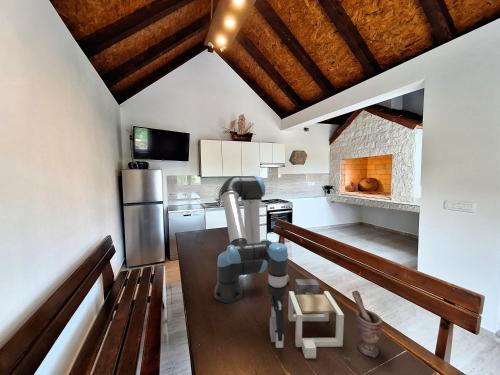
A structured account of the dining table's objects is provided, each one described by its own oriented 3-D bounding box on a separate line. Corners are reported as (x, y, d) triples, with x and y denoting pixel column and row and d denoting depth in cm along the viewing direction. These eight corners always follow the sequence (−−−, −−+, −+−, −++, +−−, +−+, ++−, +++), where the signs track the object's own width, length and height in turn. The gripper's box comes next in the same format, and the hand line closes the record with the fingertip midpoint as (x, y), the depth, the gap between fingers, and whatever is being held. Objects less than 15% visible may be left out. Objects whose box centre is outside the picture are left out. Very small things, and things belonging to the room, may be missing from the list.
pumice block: (305, 358, 78) (305, 348, 78) (302, 349, 82) (302, 339, 82) (316, 358, 78) (316, 348, 78) (312, 349, 82) (312, 339, 82)
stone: (271, 342, 86) (271, 325, 85) (269, 332, 91) (269, 316, 90) (283, 341, 86) (284, 325, 85) (281, 332, 91) (281, 316, 90)
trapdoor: (301, 312, 85) (302, 303, 85) (291, 287, 103) (292, 279, 103) (334, 312, 85) (334, 303, 85) (318, 287, 103) (319, 279, 103)
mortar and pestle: (343, 343, 85) (345, 295, 83) (352, 332, 91) (354, 287, 89) (375, 362, 77) (378, 309, 75) (383, 349, 83) (386, 299, 81)
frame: (296, 346, 83) (297, 315, 82) (288, 318, 99) (288, 291, 98) (342, 346, 84) (344, 314, 83) (327, 318, 100) (328, 291, 98)
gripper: (293, 301, 74) (292, 359, 75) (281, 268, 99) (281, 313, 100) (272, 301, 74) (271, 360, 75) (265, 269, 99) (264, 313, 100)
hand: (276, 333), depth 88 cm, fingers open, 13 cm apart
